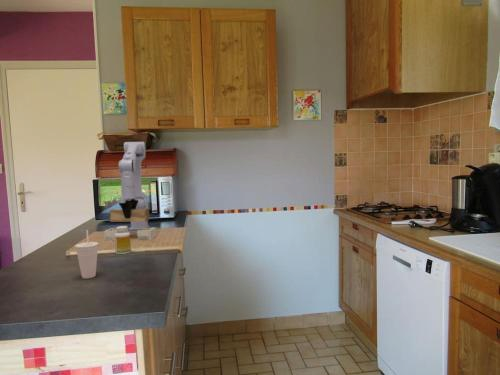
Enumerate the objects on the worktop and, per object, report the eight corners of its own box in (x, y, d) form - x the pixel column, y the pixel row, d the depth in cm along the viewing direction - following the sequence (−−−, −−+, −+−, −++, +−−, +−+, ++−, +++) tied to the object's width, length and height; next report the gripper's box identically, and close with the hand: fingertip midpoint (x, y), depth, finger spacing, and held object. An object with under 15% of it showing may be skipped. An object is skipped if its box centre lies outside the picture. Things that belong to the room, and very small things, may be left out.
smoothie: (85, 281, 99) (82, 232, 97) (72, 277, 102) (69, 230, 101) (105, 275, 104) (102, 228, 103) (92, 271, 107) (89, 227, 106)
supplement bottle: (133, 252, 130) (132, 226, 129) (119, 255, 126) (118, 228, 125) (126, 250, 134) (125, 225, 133) (113, 252, 130) (111, 227, 129)
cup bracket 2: (143, 236, 158) (143, 227, 158) (156, 236, 158) (155, 227, 157) (137, 239, 151) (137, 230, 151) (150, 239, 151) (150, 230, 150)
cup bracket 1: (111, 236, 159) (111, 228, 158) (124, 236, 158) (123, 227, 158) (104, 240, 152) (103, 231, 151) (117, 240, 151) (116, 231, 151)
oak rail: (114, 220, 157) (113, 209, 156) (149, 219, 156) (148, 208, 155) (110, 221, 152) (109, 210, 152) (146, 221, 152) (145, 209, 151)
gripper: (126, 185, 160) (127, 214, 161) (111, 188, 146) (113, 220, 147) (141, 185, 160) (142, 214, 161) (128, 187, 146) (130, 219, 147)
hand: (129, 217), depth 154 cm, fingers closed on oak rail, 4 cm apart
